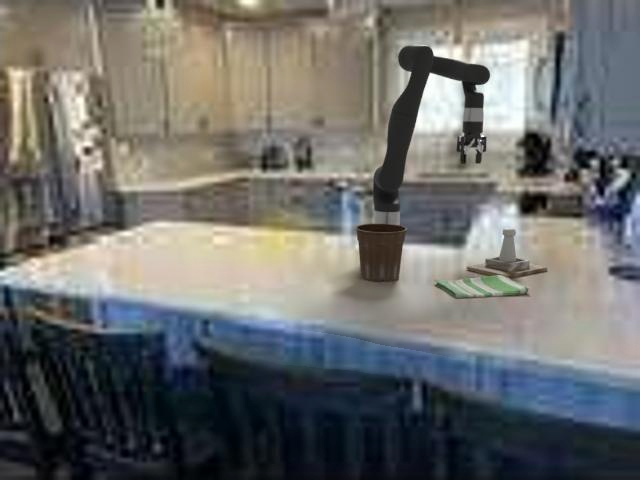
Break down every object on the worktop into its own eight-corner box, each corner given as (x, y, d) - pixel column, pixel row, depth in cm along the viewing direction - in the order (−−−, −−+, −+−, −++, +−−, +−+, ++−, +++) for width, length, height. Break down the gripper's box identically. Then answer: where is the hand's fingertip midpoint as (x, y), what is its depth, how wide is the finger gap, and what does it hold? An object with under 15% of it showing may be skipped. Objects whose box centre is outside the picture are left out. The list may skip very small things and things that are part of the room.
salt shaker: (516, 269, 233) (518, 230, 231) (498, 268, 234) (500, 229, 232) (515, 265, 239) (517, 227, 236) (497, 264, 240) (500, 226, 237)
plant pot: (391, 286, 212) (392, 233, 209) (344, 279, 220) (345, 228, 217) (413, 276, 226) (415, 226, 223) (369, 270, 234) (370, 221, 231)
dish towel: (432, 285, 216) (433, 276, 216) (502, 282, 221) (503, 273, 221) (456, 300, 199) (456, 290, 199) (531, 296, 204) (532, 287, 204)
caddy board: (505, 279, 224) (506, 267, 223) (466, 270, 236) (467, 259, 235) (547, 270, 237) (547, 259, 236) (508, 262, 249) (508, 252, 249)
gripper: (468, 120, 257) (465, 165, 260) (493, 120, 266) (490, 164, 269) (452, 120, 263) (450, 163, 266) (477, 120, 272) (475, 162, 275)
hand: (470, 163), depth 267 cm, fingers open, 8 cm apart
